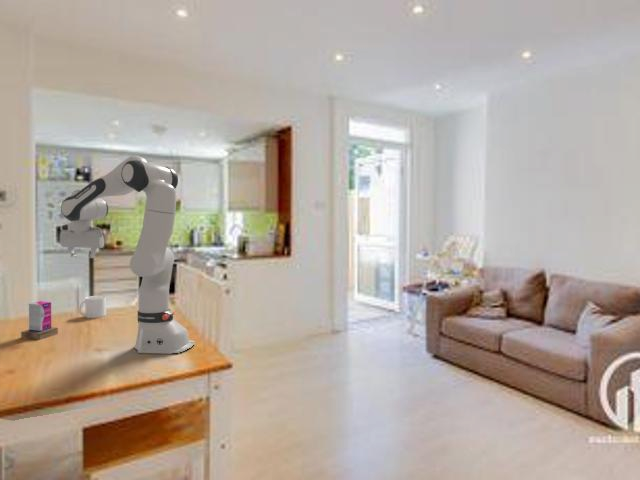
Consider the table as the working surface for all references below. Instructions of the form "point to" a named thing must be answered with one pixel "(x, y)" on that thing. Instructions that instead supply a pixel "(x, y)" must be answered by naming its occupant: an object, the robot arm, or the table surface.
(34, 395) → the table surface
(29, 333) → the base slab
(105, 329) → the table surface
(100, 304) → the mug
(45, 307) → the supplement box
